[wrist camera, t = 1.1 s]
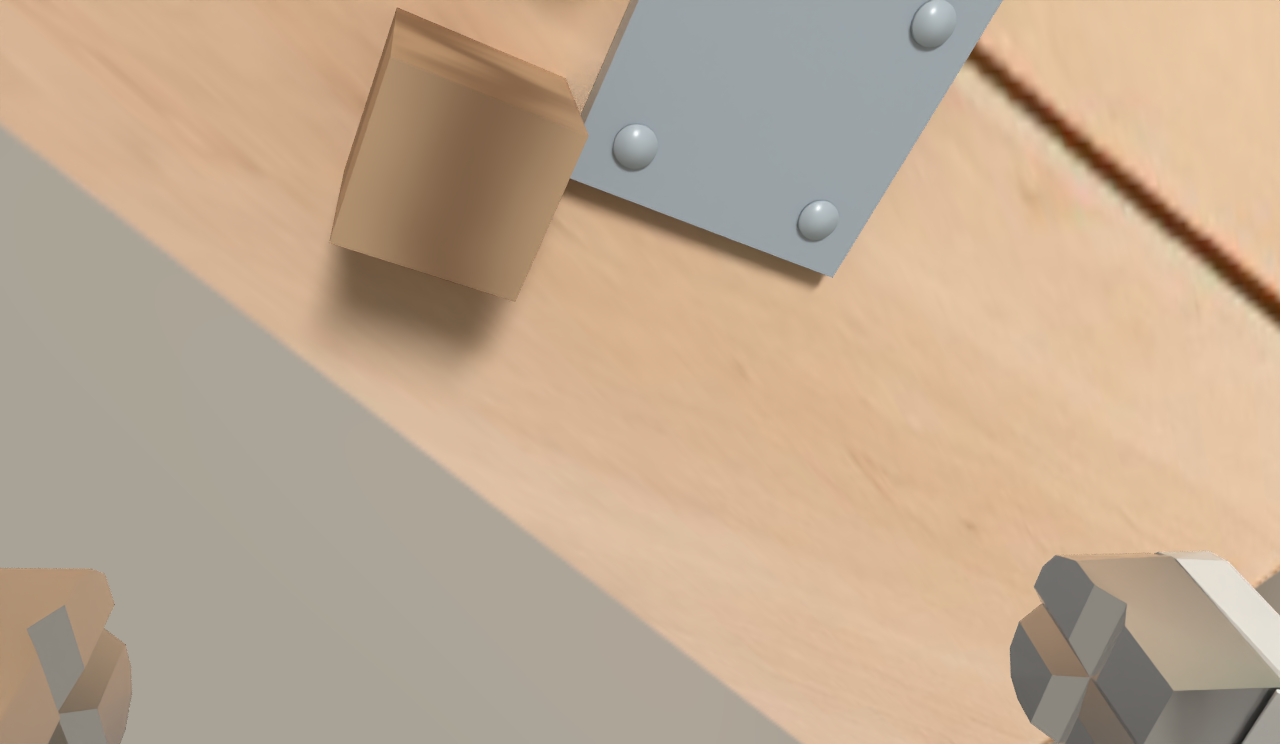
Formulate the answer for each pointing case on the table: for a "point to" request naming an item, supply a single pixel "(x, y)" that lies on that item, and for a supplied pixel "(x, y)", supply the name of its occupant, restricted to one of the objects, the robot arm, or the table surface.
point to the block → (457, 159)
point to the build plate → (771, 112)
